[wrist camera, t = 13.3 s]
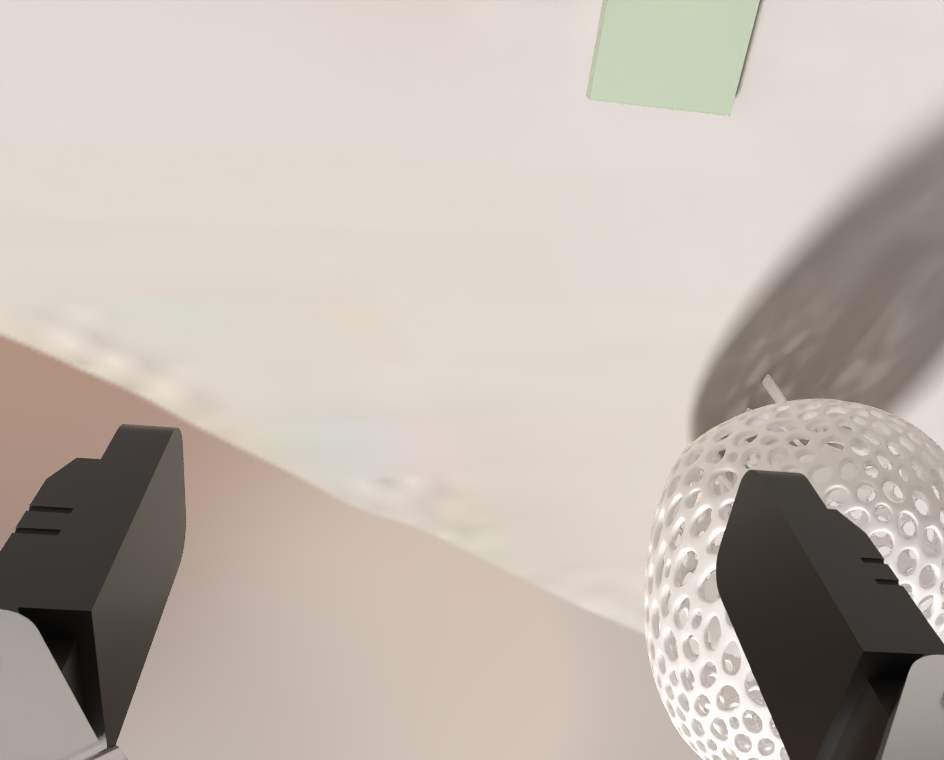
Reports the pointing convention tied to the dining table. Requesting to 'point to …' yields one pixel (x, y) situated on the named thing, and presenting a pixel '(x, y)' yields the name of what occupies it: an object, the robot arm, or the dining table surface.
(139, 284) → the dining table surface
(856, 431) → the decorative heart
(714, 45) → the lid
